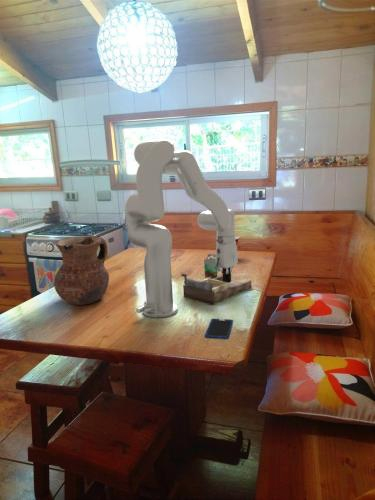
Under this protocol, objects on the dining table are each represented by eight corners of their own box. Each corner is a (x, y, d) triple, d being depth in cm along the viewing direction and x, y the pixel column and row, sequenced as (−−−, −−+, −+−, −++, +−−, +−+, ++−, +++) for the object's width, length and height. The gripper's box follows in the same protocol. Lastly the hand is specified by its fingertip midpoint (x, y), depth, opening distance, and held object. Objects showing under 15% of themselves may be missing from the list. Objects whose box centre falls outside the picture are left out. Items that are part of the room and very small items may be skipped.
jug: (89, 311, 133) (82, 245, 128) (44, 306, 140) (36, 244, 135) (120, 292, 153) (115, 234, 148) (79, 288, 160) (73, 233, 155)
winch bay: (211, 305, 133) (210, 281, 131) (180, 297, 144) (179, 274, 142) (251, 287, 152) (251, 265, 150) (221, 280, 163) (221, 260, 161)
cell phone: (233, 321, 120) (233, 319, 119) (228, 340, 106) (228, 338, 106) (211, 320, 121) (211, 318, 121) (204, 338, 108) (204, 336, 108)
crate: (211, 298, 136) (211, 289, 136) (190, 293, 144) (190, 284, 143) (229, 290, 144) (229, 282, 143) (208, 286, 151) (207, 278, 151)
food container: (218, 281, 162) (217, 260, 160) (204, 281, 164) (203, 259, 161) (221, 273, 174) (220, 253, 172) (208, 273, 175) (207, 253, 173)
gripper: (221, 243, 140) (223, 288, 144) (243, 237, 150) (244, 279, 154) (207, 241, 145) (208, 285, 149) (229, 235, 155) (230, 276, 159)
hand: (226, 281), depth 152 cm, fingers closed
